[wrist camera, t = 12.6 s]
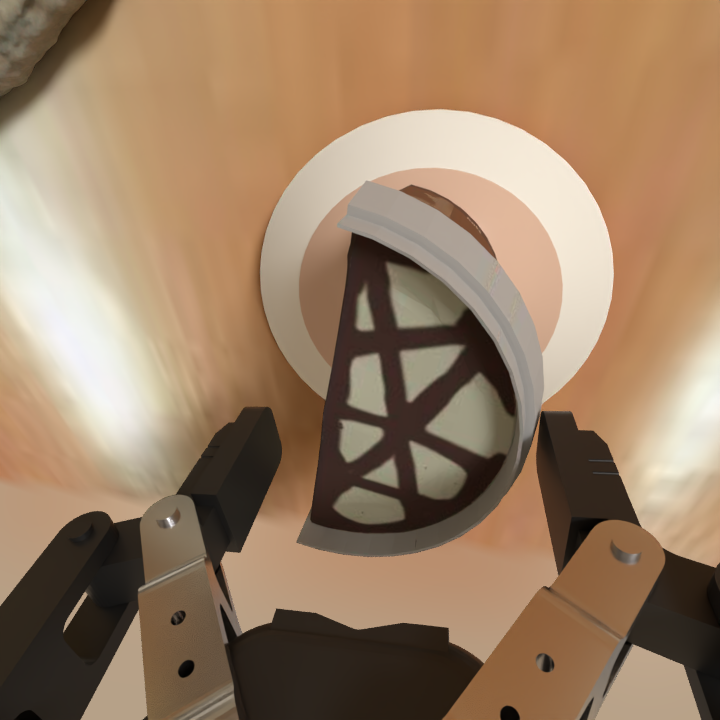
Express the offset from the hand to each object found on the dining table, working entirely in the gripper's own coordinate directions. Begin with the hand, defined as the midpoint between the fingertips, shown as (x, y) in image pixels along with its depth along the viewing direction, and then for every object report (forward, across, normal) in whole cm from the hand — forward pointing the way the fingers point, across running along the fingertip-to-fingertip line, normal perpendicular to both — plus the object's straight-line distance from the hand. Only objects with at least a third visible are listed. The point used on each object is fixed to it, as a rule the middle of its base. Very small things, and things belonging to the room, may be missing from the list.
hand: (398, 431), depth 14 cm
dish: (+10, 0, 0) cm, 11 cm away
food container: (+9, -2, 0) cm, 9 cm away
